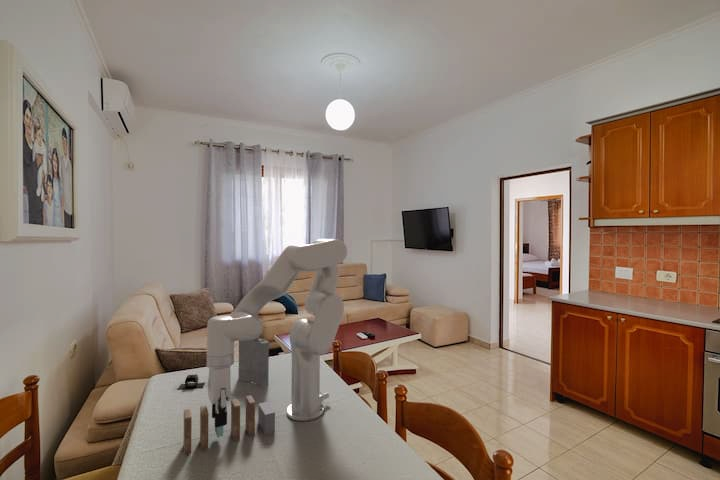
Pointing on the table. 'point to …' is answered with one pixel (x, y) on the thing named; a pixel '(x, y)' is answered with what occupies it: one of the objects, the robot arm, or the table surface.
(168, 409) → the table surface
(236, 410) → the domino
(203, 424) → the domino
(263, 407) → the end block
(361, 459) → the table surface
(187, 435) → the domino
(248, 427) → the domino
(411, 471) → the table surface
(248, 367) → the hip flask
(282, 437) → the table surface
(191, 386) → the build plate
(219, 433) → the domino
